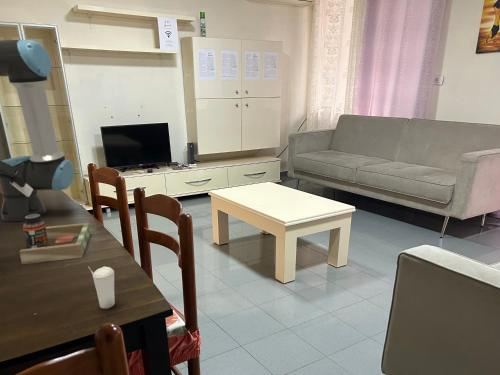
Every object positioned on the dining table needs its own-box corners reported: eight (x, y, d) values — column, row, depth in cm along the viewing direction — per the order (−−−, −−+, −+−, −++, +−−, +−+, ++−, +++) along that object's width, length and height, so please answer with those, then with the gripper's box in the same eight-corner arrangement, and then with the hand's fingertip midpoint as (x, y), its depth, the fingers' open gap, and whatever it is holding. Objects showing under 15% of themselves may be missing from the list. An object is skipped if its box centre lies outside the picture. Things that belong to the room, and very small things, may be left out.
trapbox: (39, 239, 122) (37, 227, 121) (90, 233, 126) (89, 222, 125) (21, 264, 105) (19, 251, 103) (82, 257, 109) (80, 244, 108)
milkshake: (96, 300, 87) (91, 261, 84) (120, 298, 87) (115, 260, 84) (90, 311, 82) (84, 271, 80) (114, 309, 83) (109, 270, 80)
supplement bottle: (39, 255, 110) (33, 219, 107) (22, 253, 112) (15, 218, 109) (53, 246, 116) (47, 213, 113) (37, 245, 117) (31, 212, 114)
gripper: (-100, 167, 92) (-28, 214, 107) (-24, 147, 86) (41, 200, 101) (-82, 146, 97) (-16, 194, 112) (-9, 126, 90) (51, 179, 106)
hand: (11, 197), depth 107 cm, fingers open, 13 cm apart
